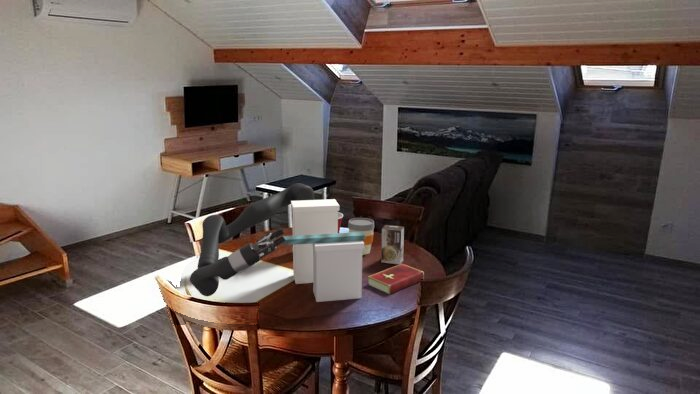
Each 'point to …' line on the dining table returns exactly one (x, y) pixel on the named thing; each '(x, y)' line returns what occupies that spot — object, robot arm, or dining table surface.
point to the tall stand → (311, 232)
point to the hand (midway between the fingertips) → (283, 234)
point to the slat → (324, 238)
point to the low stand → (337, 270)
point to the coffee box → (392, 244)
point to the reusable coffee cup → (366, 228)
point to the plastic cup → (339, 220)
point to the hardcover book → (395, 278)
